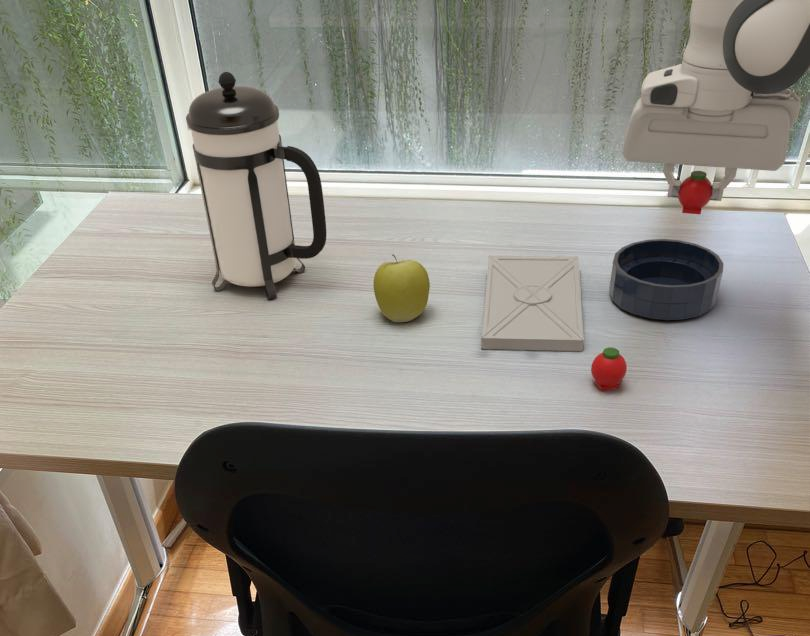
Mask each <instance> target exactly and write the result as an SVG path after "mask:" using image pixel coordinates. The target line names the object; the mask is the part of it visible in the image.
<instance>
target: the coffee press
mask: <svg viewBox="0 0 810 636" xmlns="http://www.w3.org/2000/svg"><path fill="white" fill-rule="evenodd" d="M217 82H218V84H219V86H220V87H218V88H217V87H216V88H213V89H211V90H210V89H209V90H208V91H204V92H203V93H201V94H199V95H197V96H196V97H195V98H194V99H193V101H192V102H191V103H190V105H189V108H188V113H187V114H186V116H185V121H186V125H187V126H186V127H187V130H188V131H190V133H191V137H192V142H193V143H192V150H193V156H194V160H195V165H196V171H197V175H198V181H199V187H200V191H201V197H202V200H203V201H202V202H203V206H204V212H205V214H206V215H205V216H206V221H207V226H208V231H209V237H210V241H211V247H212V251H213V256H214V262H215V268H216V269H215V271H216V272H215V274H214V277H213V279H212V281H211V285H212V287H213V289H214V290H215V291H216V292H222V290H224V289H225V287H226V286H227V285H228V284H229V283H231V284H233V285H237V286H240V287H241V286H242V287H249V288H250V287H253V288H254V287H263V290H264V293H265V296H266V299H267V300H272V299H273V300H274V299H276V298H278V293H277V290H276V286H275V283H278V282H280V281H282V280H284V279H285V278H286V277H288V276H290V274H292V272H293V271H295V272H297V273H298V274H302V273H303V272H305V271H306V266H305V264H304V263H303V262H302V260H303V259H306V260H307V259H312V258H315V257H317V256H318V255H319V254H320V253H321V252H322V251H323V249H324V248H325V246H326V242H327V221H326V210H325V201H324V192H323V187H322V186H323V185H322V180H321V175H320V173H319V170H318V168H317V165H316V163H315V162H314V160H313V159H312V158H311V156H310V155H308V153H306V152H305V151H303V150H302V149H300V148H298V147H295V146H291V145H287V146H283V142H282V141H283V140H282V136H281V134H280V131H279V122H278V121H279V118H280V109H279V107H278V105H276V104H275V103H274V101H273V99H272V97H271V96H270V95H269V94H268V93H266V92H265V91H263V90H261V89H259V88H255V87H251V86H242V85H236V82H237V79H236V78H235V75H233V74H232V73H231V72H229V71H224V72H222V73H220V75H219V77H218V81H217ZM285 160H286V161H287V162H291V163H294V164H295V165H297V166H298V167H299V169H301V171H302V172H303V174H304V176H305V180H306V183H307V189H308V199H309V205H310V206H309V207H310V216H311V223H312V224H311V225H312V232H313V236H312V242H311V243H310V245H299V244H297V245H296V243H295V236H294V228H293V221H292V220H293V219H292V214H291V205H290V198H289V197H290V196H289V190H288V189H289V188H288V183H287V175H286V174H287V173H286V166H285ZM296 260H298V262H299V263H300V264H301V265H300V267H299V268H296ZM220 275H221V277H222V278H223V281H222V282H221V284H219V286H216V284H217V282H218V280H219V278H220Z"/></svg>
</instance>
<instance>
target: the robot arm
mask: <svg viewBox="0 0 810 636" xmlns="http://www.w3.org/2000/svg"><path fill="white" fill-rule="evenodd" d="M689 29H690V31H689V38H688V42H687V45H686V47H685V49H684V51H683V55H682V61H681V63H678V64H676V65H673V66H669V67H665V68H662V69H658V70H655V71H651V72H649V73H648V74H647V75H646V76H645V78H644V79H643V81H642V84H641V87H640V98H638V100H637V101H636V103H635V104H634V106H633V109H632V112H631V114H630V118H629V121H628V125H627V129H626V132H625V136H624V137H625V138H624V140H623V146H622V155H623V157H624V159H625V160H626V161H627V162H637V163H648V164H649V163H650V164H663V169H662V172H663V175H664V177H665V180H666V182H667V185H668V190H667V195H666V196H667V198H676V199H677V198H678V197H679V191H680V186H681V183H682V180H678V179H676V178H675V175H674V172H675V167H676V165H679V166H695V167H709V168H710V167H712V168H724V176H723V178H722V179H721V180H720V181H719V182H712V192H711V193H712V195H711V197H710V201H715V202H722V200H723V194H724V191H725V189H726V188H727V187H728V186H729V185H730V184H731V182H732V181H733V180H734V179H735V178H736V176H737V172H738V170H739V169H740V170H753V171H767V172H768V171H769V172H776V171H778V170H779V169H781V168H782V166H784V165H785V163H786V159H787V154H788V148H789V141H790V131H791V129H790V128H792V127H794V125H795V124H796V123H797V121H798V119H799V116H800V111H801V108H802V100H801V99H800V97H799V95H798V94H796V93H795V92H792V89H789V88H791V87H793V85H795V84H796V83H797V82H799V81H800V80H801V79H802V78H803V77H804V75H806V74H807V73H808V72H809V71H810V0H692V1H691V7H690V11H689Z"/></svg>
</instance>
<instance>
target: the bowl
mask: <svg viewBox="0 0 810 636" xmlns="http://www.w3.org/2000/svg"><path fill="white" fill-rule="evenodd" d="M724 265H725V264H724V262H723V260H722V258H721V257H720V255H719V254H717V253H716V252H714V251H713V250H711V249H710V248H709V247H705V246H702V245H700V244H698V243H694V242H689V241H685V240H680V239H671V238H670V239H669V238H657V239H656V238H654V239H643V240H639V241H635V242H631V243H629V244H627V245H624V246H622V247H621V248H620V249H619V250H618V251H616V252H615V253H614V257H613V260H612V267H611V276H610V282H609V290H608V294H609V296H610V298H611V301H612V302H614V303H615V304H616V305H617V306H618V307H619V308H620V309H622V310H624V311H626V312H628V313H631V314H632V315H636V316H639V317H642V318H646V319H652V320H663V321H675V320H687V319H692V318H696V317H699V316H702V315H704V314H706V313H707V312H710V311H711V310H712V308H714V306H715V305H716V304H717V301H718V295H719V291H720V287H721V282H722V277H723V273H724Z"/></svg>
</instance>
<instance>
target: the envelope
mask: <svg viewBox="0 0 810 636" xmlns="http://www.w3.org/2000/svg"><path fill="white" fill-rule="evenodd" d="M485 282H486V284H485V295H484V304H483V305H484V306H483V315H482V317H483V318H482V328H481V339H480V340H481V342H480V345H481V346H480V348H481V349H482V350H511V351H513V350H515V351H551V352H553V351H554V352H555V351H557V352H583V350H584V326H583V325H584V324H583V322H584V321H583V310H582V309H583V308H582V293H581V277H580V262H579V256H565V255H564V256H562V255H561V256H560V255H559V256H558V255H556V256H555V255H551V256H550V255H549V256H548V255H489V256H488V262H487V273H486V281H485Z"/></svg>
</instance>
